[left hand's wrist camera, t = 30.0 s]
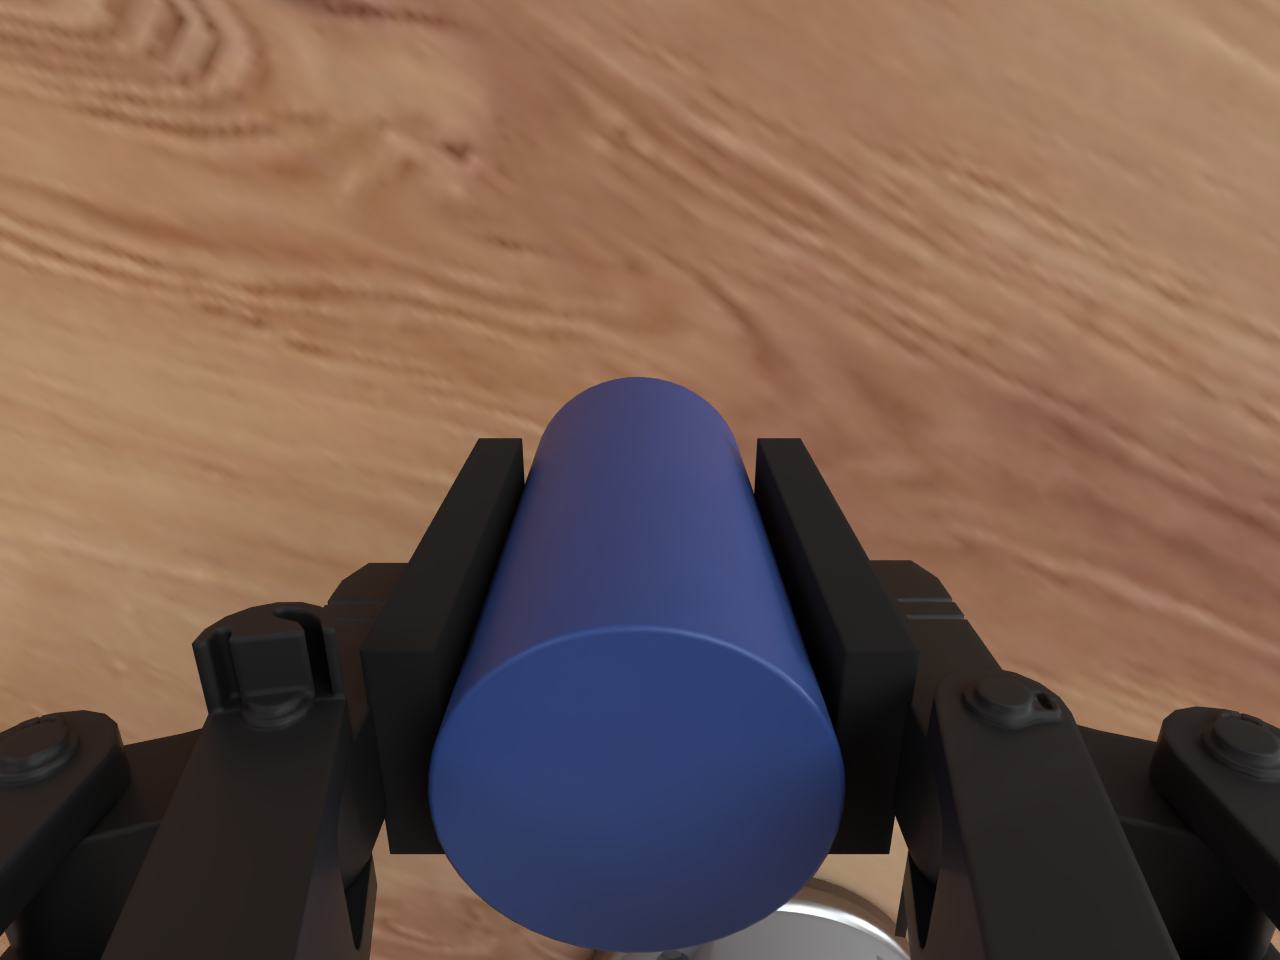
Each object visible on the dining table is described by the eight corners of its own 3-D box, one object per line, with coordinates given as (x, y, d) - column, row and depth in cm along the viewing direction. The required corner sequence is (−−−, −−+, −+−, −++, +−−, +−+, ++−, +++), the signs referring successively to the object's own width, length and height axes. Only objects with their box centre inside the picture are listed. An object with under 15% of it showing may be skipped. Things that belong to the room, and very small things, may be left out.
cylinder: (780, 501, 16) (921, 848, 8) (613, 602, 17) (588, 1007, 9) (666, 333, 15) (697, 543, 7) (492, 452, 16) (336, 764, 8)
